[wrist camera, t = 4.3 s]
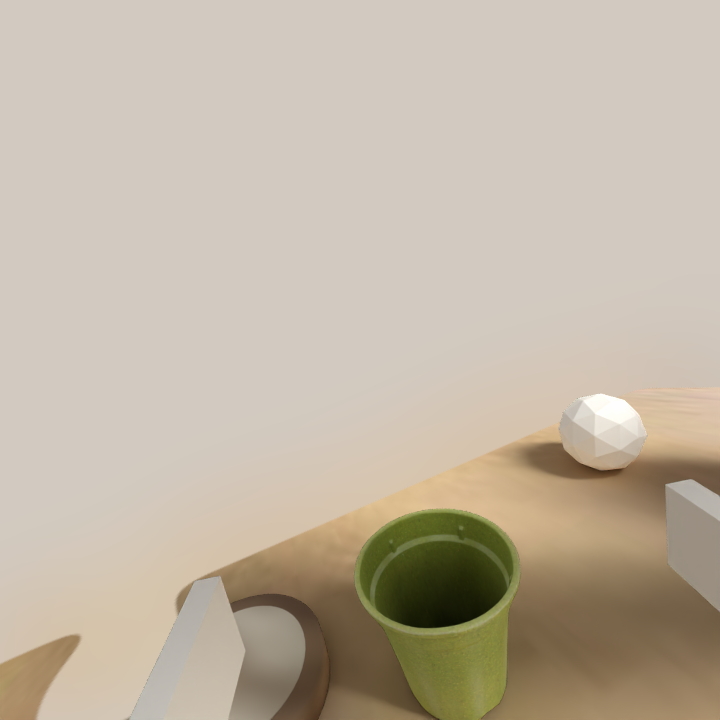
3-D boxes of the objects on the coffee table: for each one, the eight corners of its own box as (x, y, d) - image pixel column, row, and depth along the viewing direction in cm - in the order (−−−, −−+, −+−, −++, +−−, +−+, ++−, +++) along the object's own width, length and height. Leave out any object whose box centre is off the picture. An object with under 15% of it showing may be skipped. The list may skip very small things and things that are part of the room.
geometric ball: (613, 498, 41) (603, 467, 36) (551, 448, 48) (535, 416, 42) (667, 447, 41) (665, 410, 36) (598, 404, 48) (587, 367, 42)
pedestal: (222, 608, 35) (215, 588, 34) (352, 620, 31) (346, 598, 30) (101, 783, 24) (88, 758, 23) (279, 836, 20) (268, 807, 19)
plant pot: (547, 783, 19) (526, 644, 17) (365, 743, 23) (330, 621, 21) (530, 615, 28) (515, 508, 26) (399, 604, 31) (377, 507, 29)
